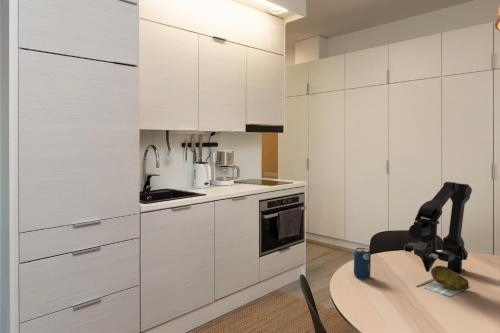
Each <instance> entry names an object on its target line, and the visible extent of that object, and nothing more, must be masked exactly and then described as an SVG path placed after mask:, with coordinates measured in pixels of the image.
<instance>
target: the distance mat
mask: <svg viewBox="0 0 500 333" xmlns="http://www.w3.org/2000/svg"><path fill="white" fill-rule="evenodd" d="M469 287H470V285H469V286H468V288H469ZM423 289H425V290H429V291H431V292H435V293H438V294H441V295H443V296H446V297H451V298H452V296H455V295H456V294H458V293H461V292H463V291H464V290H465V289H463V290H452V289H449V288H446V287H445V286H443V285H442V284H439V283H438V282H436V281H435V282H434V283H431V284H429V285H427V286H425V287H424V288H423Z"/></svg>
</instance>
